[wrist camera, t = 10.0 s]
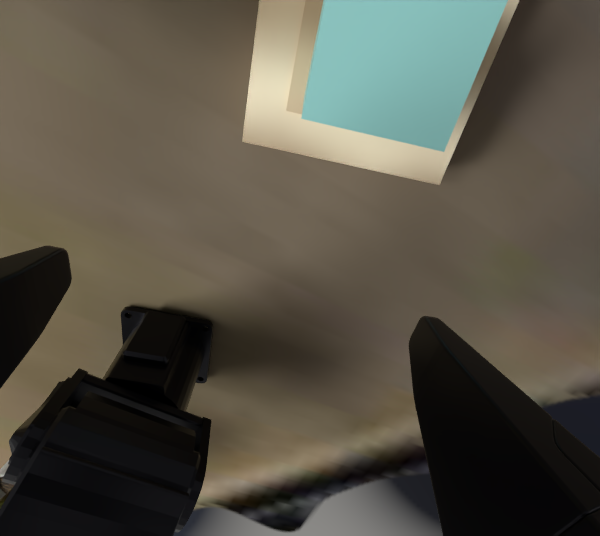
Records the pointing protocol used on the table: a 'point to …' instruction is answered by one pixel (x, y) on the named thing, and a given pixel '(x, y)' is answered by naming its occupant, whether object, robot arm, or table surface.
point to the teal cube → (398, 65)
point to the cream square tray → (320, 137)
